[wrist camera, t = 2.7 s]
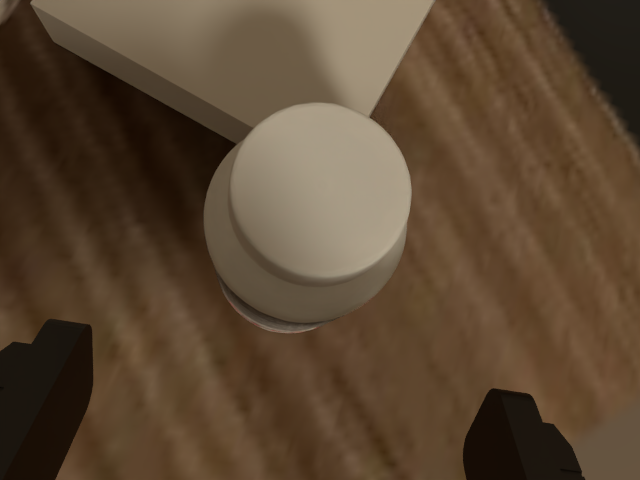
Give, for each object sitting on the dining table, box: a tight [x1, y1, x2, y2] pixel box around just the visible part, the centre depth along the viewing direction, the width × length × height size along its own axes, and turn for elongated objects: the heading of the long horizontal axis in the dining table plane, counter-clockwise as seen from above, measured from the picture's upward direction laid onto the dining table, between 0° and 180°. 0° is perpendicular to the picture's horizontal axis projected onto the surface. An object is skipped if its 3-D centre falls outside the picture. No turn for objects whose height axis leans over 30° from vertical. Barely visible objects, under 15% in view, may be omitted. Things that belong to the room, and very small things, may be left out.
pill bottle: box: [204, 102, 412, 333], centre depth 17 cm, size 5×5×10 cm
